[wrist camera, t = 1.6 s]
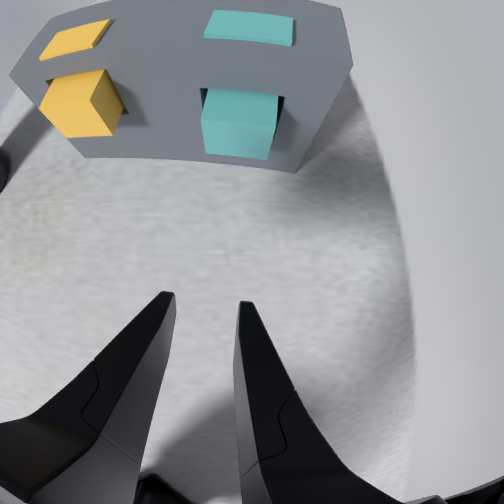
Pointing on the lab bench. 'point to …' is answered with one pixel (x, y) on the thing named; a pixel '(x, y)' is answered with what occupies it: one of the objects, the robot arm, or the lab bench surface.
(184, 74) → the button panel
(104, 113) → the amber button
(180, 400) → the lab bench surface
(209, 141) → the teal button
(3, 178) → the supplement bottle
